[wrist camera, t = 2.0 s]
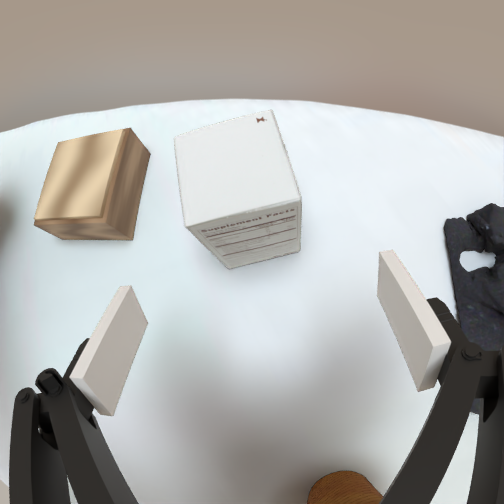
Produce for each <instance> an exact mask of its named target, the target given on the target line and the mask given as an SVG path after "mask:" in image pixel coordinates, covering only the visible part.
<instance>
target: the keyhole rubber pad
mask: <svg viewBox="0 0 504 504" xmlns="http://www.w3.org/2000/svg"><path fill="white" fill-rule="evenodd" d="M467 218H468V220H464V219H463V218H462V217H460V218H458V219H456V218H452V219H447V220H446V224H445V226H444V230H445V232H446V238H447V245H448V248H449V251H450V259H451V266H452V273H453V284H454V286H455V295H456V300H457V307H458V310H459V318H460V321H461V329H462V331H463V332H464V334H465V336H466V337H467V339H468V341H469V342H474V343H476V344H478V345H479V346H480V347H481V348H482V349H483V350H484V351H499V350H501V348H502V346H503V345H504V207H499V206H497V205H496V204H493V203H490V204H488V205H486V206H485V207H483V208H482V209H479V210H476V211H475V212H474V213H472V214H469V215H467ZM468 222H470V223H468ZM484 249H485V252H493V253H494V254H495V255H496V257H495V259H496V260H495V265H494V267H492V268H490V269H489V268H488V267H482V268H478V269H476V270H473V271H470V272H467V271H466V270H465V269H464V268H463V267H462V266H461V264H460V261H459V259H460V254H461V253H462V252H463V251H470V250H471V251H476V252H479V253H481V252H482V251H483V250H484ZM479 410H480V399H474V401H473V404H472V407H471V410H470V411H471V412H473V413H475V414H479Z"/></svg>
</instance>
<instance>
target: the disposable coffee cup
mask: <svg viewBox="0 0 504 504" xmlns="http://www.w3.org/2000/svg"><path fill="white" fill-rule="evenodd" d="M382 498H383V496H382V495H381V494H380V493H379V492H378V491H377V490H376V489H375V488H374V487H373V485H372V484H371V483H370V482H369V481H368V480H367V479H366V478H365V477H364V476H363V475H361V474H359V473H356V472H353V471H339V472H334V473H331V474H329V475H326V476H325V477H323V478H321V479H320V480H319V481H317V482H316V483H315V485H314V486H313V487H312V489H311V491H310V493H309V496H308V501H307V504H379V502H380V501H381V499H382Z"/></svg>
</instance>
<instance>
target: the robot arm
mask: <svg viewBox="0 0 504 504" xmlns="http://www.w3.org/2000/svg"><path fill="white" fill-rule="evenodd" d="M377 297H378V299H379V301H380V303H381V305H382V307H383V310H384V312H385V314H386V316H387V318H388V321H389V323H390V325H391V327H392V330H393V332H394V334H395V336H396V339H397V341H398V343H399V346H400V348H401V351H402V353H403V355H404V358H405V360H406V363H407V365H408V368H409V370H410V373H411V375H412V378H413V380H414V383H415V385H416V388H417V391H418V392H420V391H423V390H427V389H430V388H433V387H434V386H435V384H436V382H437V379H438V381H439V383H440V385H441V387H440V390H439V392H438V394H437V396H436V398H435V402H434V404H433V406H432V408H431V411H430V413H429V415H428V417H427V419H426V421H425V424H424V426H423V428H422V430H421V432H420V434H419V436H418V438H417V440H416V442H415V444H414V446H413V447H412V449H411V451H410V453H409V455H408V457H407V458H406V460H405V462H404V464H403V466H402V467H401V469H400V471H399V472H398V474H397V476H396V477H395V479H394V481H393V482H392V484H391V485H390V487H389V489H388V490H387V492H386V493H385V495H384V496H383V498H382V499H381V501H380V502H379V504H430V502H431V500H432V499H433V497H434V495H435V493H436V491H437V489H438V487H439V485H440V483H441V481H442V479H443V477H444V475H445V473H446V471H447V468H448V466H449V464H450V462H451V460H452V457H453V455H454V453H455V450H456V448H457V445H458V443H459V440H460V438H461V435H462V433H463V430H464V427H465V424H466V422H467V419H468V416H469V413H470V410H471V407H472V404H473V401H474V399H480V410H479V426H478V437H477V447H476V455H475V462H474V469H473V475H472V481H471V486H470V491H469V496H468V500H467V504H504V345H503V346H502V348H501V350H499V351H484V350H483V349H482V348H481V347H480V346H479V345H478V344H476V343H474V342H469V341H468V339H467V337H466V336H465V334H464V332H463V331H462V329H461V328H460V326H459V324H458V323H457V321H456V320H455V319H454V317H453V315H452V313H450V310H449V309H448V307H447V306H446V304H445V303H443V302H442V301H441V300H439V299H438V298H437V297H436V298H432V299H427V300H426V299H425V297H424V295H423V294H422V292H421V291H420V289H419V288H418V286H417V285H416V283H415V282H414V280H413V278H412V277H411V275H410V274H409V272H408V271H407V269H406V268H405V267H404V265H403V264H402V262H401V261H400V259H399V258H398V256H397V255H396V253H395V252H394V251H393V250H389V251H383V252H379V271H378V288H377ZM147 325H148V322H147V320H146V317H145V315H144V313H143V311H142V309H141V307H140V304H139V302H138V300H137V298H136V295H135V293H134V291H133V289H132V286H131V285H130V286H121V287H119V288H118V290H117V292H116V293H115V295H114V297H113V299H112V300H111V302H110V304H109V305H108V307H107V309H106V310H105V312H104V314H103V316H102V317H101V319H100V321H99V323H98V325H97V326H96V328H95V330H94V332H93V334H92V335H91V337H90V338H87V339H86V340H85V341H84V342H83V343H82V344H81V345H80V346H79V348H78V350H77V352H76V354H75V355H74V357H73V360H72V361H71V363H70V365H69V367H68V369H67V370H66V372H65V374H64V376H63V378H62V377H61V376H60V374H59V373H58V372H57V370H55V369H53V368H48V369H46V370H44V371H42V372H41V373H40V374H39V375H38V377H37V379H36V382H35V385H36V386H37V387H38V388H39V390H40V391H41V392H42V393H38V394H36V393H35V392H34V390H33V389H32V388H29V387H28V388H24V389H22V390H21V391H19V393H18V394H17V396H16V398H15V403H14V411H13V419H12V429H11V442H10V462H9V494H10V504H71V502H70V496H69V489H68V480H67V476H68V479H69V482H70V484H71V487H72V489H73V492H74V495H75V497H76V500H77V502H78V504H138V502H137V500H136V499H135V497H134V495H133V493H132V492H131V490H130V488H129V486H128V485H127V483H126V481H125V479H124V477H123V475H122V473H121V472H120V470H119V468H118V466H117V464H116V462H115V460H114V458H113V456H112V454H111V452H110V450H109V447H108V445H107V443H106V441H105V439H104V437H103V434H102V432H101V430H100V428H99V425H98V423H97V421H96V418H95V416H94V415H93V414H92V411H93V409H94V408H95V409H96V410H97V411H98V413H99V414H100V415H107V416H114V413H115V410H116V407H117V404H118V401H119V398H120V396H121V393H122V390H123V387H124V385H125V382H126V379H127V377H128V374H129V371H130V369H131V366H132V363H133V361H134V358H135V355H136V353H137V350H138V348H139V345H140V343H141V340H142V338H143V335H144V333H145V330H146V328H147ZM38 428H39V430H38Z"/></svg>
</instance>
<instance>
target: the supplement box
mask: <svg viewBox="0 0 504 504" xmlns="http://www.w3.org/2000/svg"><path fill="white" fill-rule="evenodd" d="M174 146H175V157H176V165H177V173H178V182H179V189H180V197H181V204H182V211H183V217H184V223H185V227H186V228H187V229H188V230H189V231H190V232H191V233H192V234H193V235H194V236H195V237H196V238H197V239H198V240H199V241H200V242H201V243H202V244H203V245H204V246H205V247H206V248H207V249H208V250H209V251H210V252H211V253H212V254H213V255H214V256H215V257H216V258H217V259H218V260H219V261H220V262H221V263H222V264H224V265H225V266H226V267H227V268H228V269H232V268H235V267H239V266H243V265H247V264H251V263H255V262H260V261H264V260H268V259H272V258H276V257H280V256H284V255H288V254H292V253H296V252H299V251H300V247H301V243H300V241H301V216H302V202H301V194H300V191H299V187H298V184H297V181H296V178H295V175H294V172H293V169H292V166H291V163H290V160H289V156H288V153H287V150H286V147H285V144H284V142H283V139H282V136H281V133H280V130H279V127H278V124H277V121H276V119H275V116H274V113H273V110H268V111H263V112H258V113H254V114H250V115H246V116H242V117H238V118H234V119H230V120H227V121H223V122H220V123H216V124H213V125H209V126H206V127H202V128H199V129H196V130H193V131H189V132H186V133H183V134H180V135H178V136H175V137H174Z"/></svg>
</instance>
